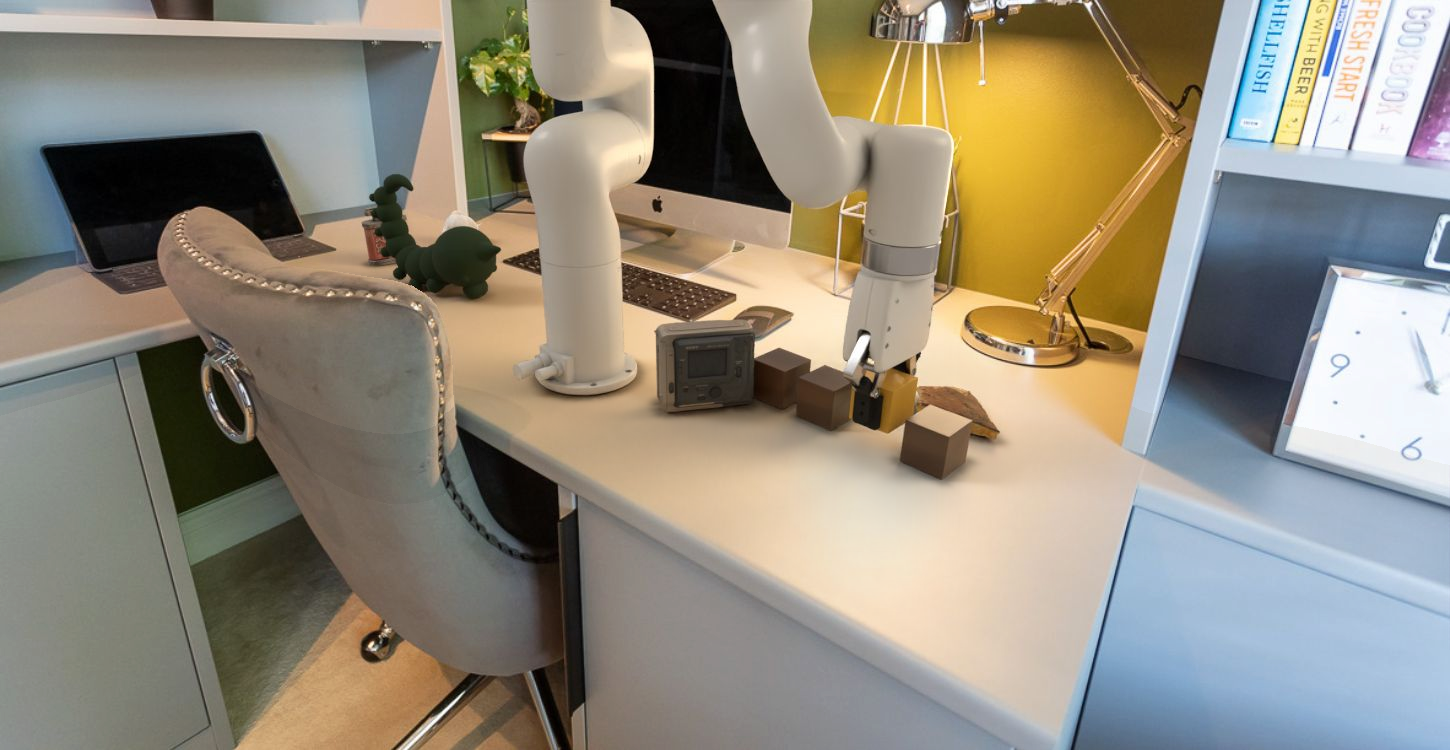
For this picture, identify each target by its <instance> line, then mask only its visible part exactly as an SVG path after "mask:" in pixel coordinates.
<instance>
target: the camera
mask: <svg viewBox="0 0 1450 750" xmlns="http://www.w3.org/2000/svg"><path fill="white" fill-rule="evenodd" d="M754 328H755V327H754V326H753V325H752V324H751V323H750V322H749V320H746V319H710V320H696V321H681V322H669V323H662V324H660V325H658V326H657V328H656V329H654V331H653V332H654V334H655V368H656V398H657V400H658V403H659V405H660V407H661V410H663V412H665V413H672V412H682V411H693V410H703V409H712V408H713V409H714V408H721V407H722V408H723V407H731V406H738V405H750V404H752V403H753V399H754V397H753V387H754V358H755V347H756V344H755V343H756V334H755V332H754Z"/></svg>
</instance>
